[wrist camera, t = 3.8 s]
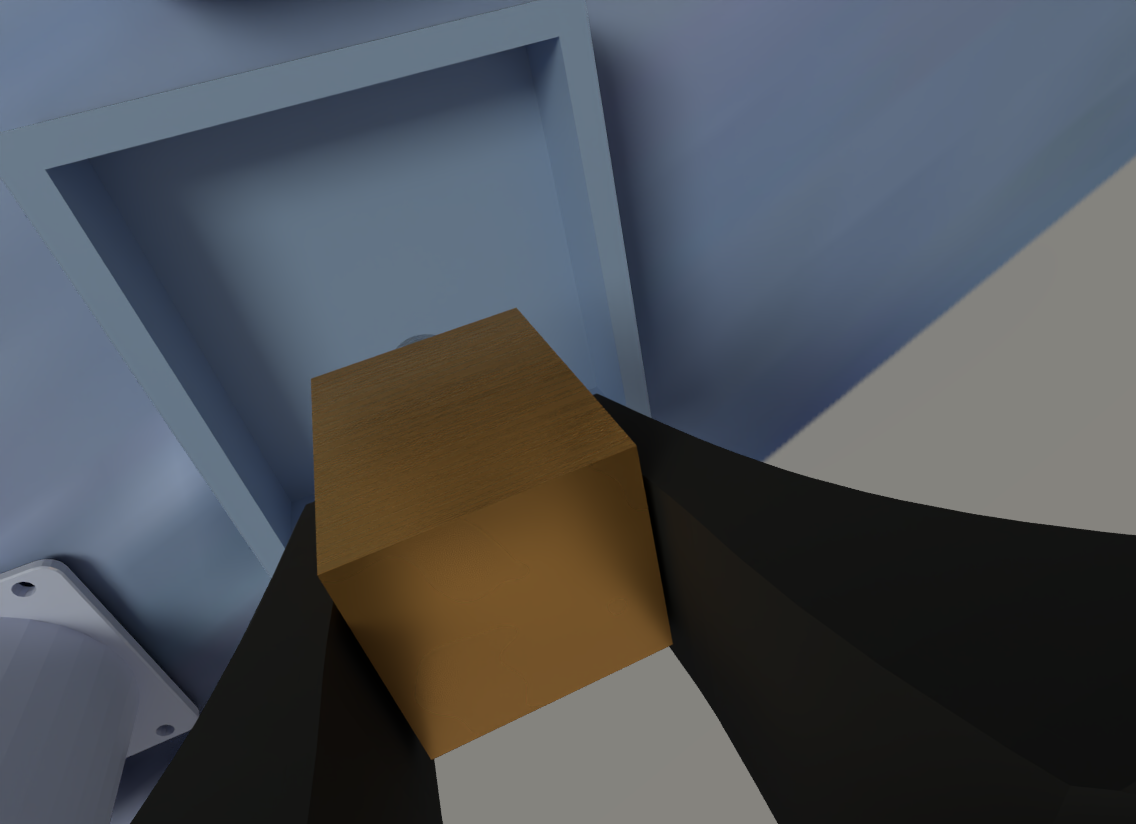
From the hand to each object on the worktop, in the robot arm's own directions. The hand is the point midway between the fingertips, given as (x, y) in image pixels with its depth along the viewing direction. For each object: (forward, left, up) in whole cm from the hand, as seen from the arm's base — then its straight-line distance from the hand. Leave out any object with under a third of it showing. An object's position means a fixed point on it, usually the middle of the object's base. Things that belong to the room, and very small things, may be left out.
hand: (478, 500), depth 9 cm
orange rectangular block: (0, +1, -4) cm, 4 cm away
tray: (0, 0, -10) cm, 10 cm away
